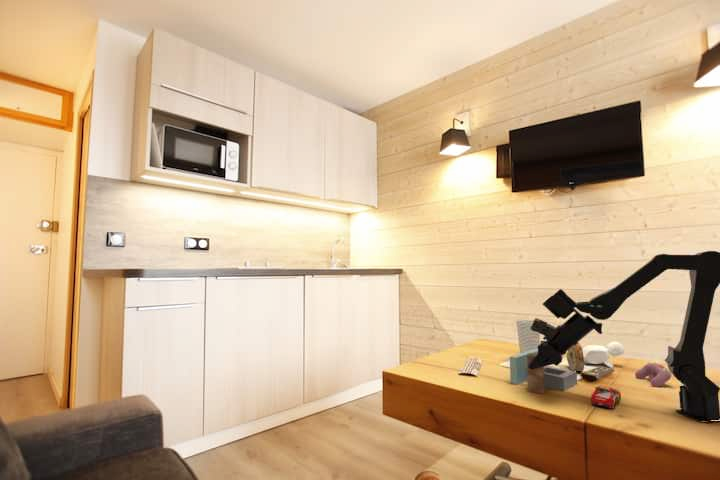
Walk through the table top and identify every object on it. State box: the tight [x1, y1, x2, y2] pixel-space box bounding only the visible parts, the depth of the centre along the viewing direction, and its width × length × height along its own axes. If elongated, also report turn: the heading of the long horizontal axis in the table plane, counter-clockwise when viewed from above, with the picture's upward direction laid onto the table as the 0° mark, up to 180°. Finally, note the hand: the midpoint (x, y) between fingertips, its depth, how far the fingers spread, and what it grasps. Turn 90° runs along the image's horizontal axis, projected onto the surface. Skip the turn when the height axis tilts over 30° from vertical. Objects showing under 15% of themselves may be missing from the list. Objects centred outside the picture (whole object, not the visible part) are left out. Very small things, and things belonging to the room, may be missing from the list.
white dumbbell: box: [582, 341, 625, 369], centre depth 131 cm, size 9×8×15 cm
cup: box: [515, 319, 541, 354], centre depth 135 cm, size 8×8×16 cm
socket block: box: [544, 365, 578, 392], centre depth 109 cm, size 10×10×4 cm
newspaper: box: [458, 356, 484, 377], centre depth 127 cm, size 24×7×2 cm, turn 156°
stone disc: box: [565, 342, 585, 372], centre depth 124 cm, size 10×4×10 cm, turn 163°
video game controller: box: [634, 362, 672, 388], centre depth 110 cm, size 10×5×7 cm, turn 169°
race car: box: [590, 385, 622, 409], centre depth 94 cm, size 13×5×4 cm, turn 135°
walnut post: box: [527, 353, 546, 394], centre depth 103 cm, size 4×4×10 cm
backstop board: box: [509, 348, 538, 386], centre depth 115 cm, size 2×20×8 cm, turn 130°
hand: (530, 366), depth 104 cm, fingers closed on walnut post, 4 cm apart
